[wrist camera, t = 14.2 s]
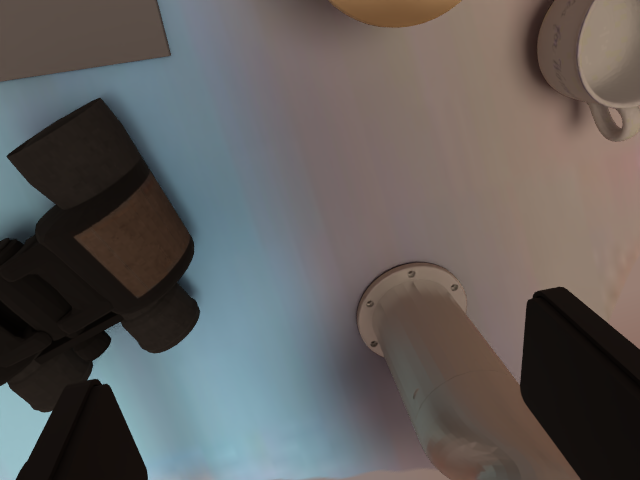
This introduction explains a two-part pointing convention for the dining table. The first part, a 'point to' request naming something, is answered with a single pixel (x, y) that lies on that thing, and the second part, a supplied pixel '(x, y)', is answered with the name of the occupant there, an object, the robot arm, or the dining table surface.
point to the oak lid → (394, 11)
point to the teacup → (595, 59)
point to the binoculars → (89, 258)
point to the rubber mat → (77, 35)
